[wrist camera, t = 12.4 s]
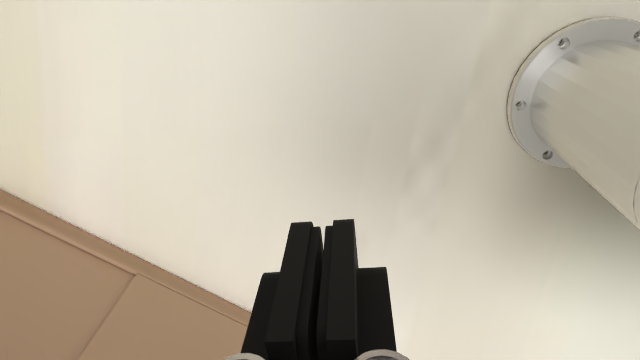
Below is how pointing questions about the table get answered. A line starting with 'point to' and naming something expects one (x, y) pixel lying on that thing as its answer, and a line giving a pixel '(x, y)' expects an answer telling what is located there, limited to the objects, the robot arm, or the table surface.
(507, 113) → the robot arm
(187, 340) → the box
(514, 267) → the table surface
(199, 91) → the table surface
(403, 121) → the table surface
